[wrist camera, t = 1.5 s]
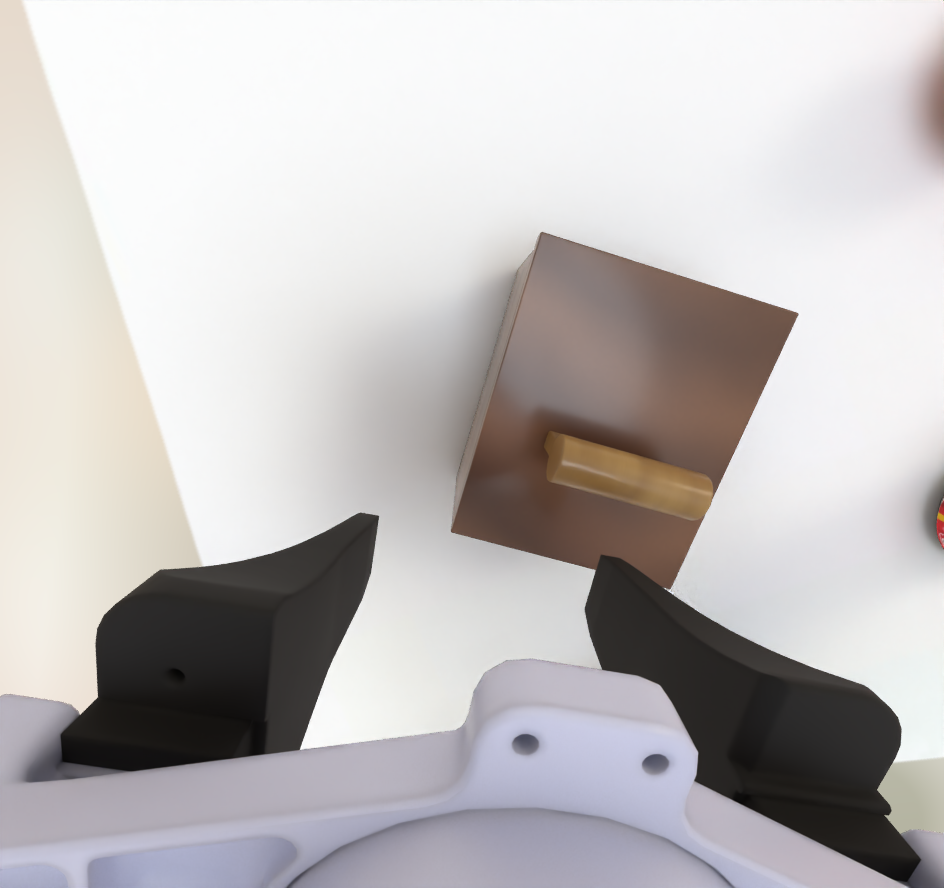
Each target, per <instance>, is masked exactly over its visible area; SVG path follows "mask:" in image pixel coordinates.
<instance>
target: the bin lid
mask: <svg viewBox="0 0 944 888" xmlns="http://www.w3.org/2000/svg"><path fill="white" fill-rule="evenodd" d="M797 316H798V313H796V312H793V311H790V310H787V309H783V308H780V307H777V306H774V305H771V304H768V303H765V302H761V301H758V300H755V299H752V298H749V297H746V296H743V295H739V294H736V293H733V292H730V291H727V290H724V289H720V288H717V287H714V286H711V285H708V284H705V283H702V282H698V281H695V280H692V279H689V278H686V277H683V276H679V275H676V274H673V273H670V272H667V271H664V270H661V269H657V268H654V267H651V266H648V265H645V264H642V263H639V262H635V261H632V260H629V259H626V258H623V257H620V256H616V255H613V254H610V253H607V252H604V251H601V250H598V249H594V248H591V247H588V246H585V245H582V244H579V243H575V242H572V241H569V240H566V239H563V238H560V237H557V236H553V235H550V234H547V233H544V232H541V233H540V234H539V236H538V238H537V241H536V245H535V248H534V251H533V255H532V258H531V261H530V265H529V268H528V271H527V275H526V278H525V281H524V285H523V288H522V291H521V295H520V298H519V301H518V305H517V308H516V311H515V315H514V318H513V321H512V325H511V328H510V331H509V335H508V338H507V341H506V345H505V348H504V351H503V355H502V358H501V361H500V365H499V368H498V371H497V375H496V378H495V381H494V385H493V388H492V391H491V395H490V398H489V401H488V405H487V408H486V411H485V415H484V418H483V421H482V425H481V428H480V431H479V435H478V438H477V441H476V445H475V448H474V451H473V455H472V458H471V461H470V465H469V468H468V471H467V475H466V478H465V481H464V485H463V488H462V491H461V495H460V498H459V501H458V505H457V508H456V511H455V515H454V518H453V521H452V526H451V532H452V533H456V534H460V535H464V536H468V537H472V538H475V539H479V540H483V541H487V542H491V543H495V544H498V545H502V546H506V547H510V548H514V549H517V550H521V551H525V552H529V553H533V554H537V555H540V556H544V557H548V558H552V559H556V560H560V561H563V562H567V563H571V564H575V565H579V566H583V567H586V568H590V569H594V570H596V569H597V566H598V562H599V559H600V556H601V555H606V556H612V557H618V558H621V559H623V560H624V561H626V562H628V563H629V564H631V565H632V566H634V567H635V568H636V569H638V570H639V571H641V572H642V573H643V574H645V575H646V576H648V577H649V578H650V579H652V580H653V581H654V582H656V583H657V584H658V585H660V586H661V587H663V588H667V589H671V587H672V585H673V583H674V580H675V578H676V576H677V574H678V572H679V570H680V567H681V565H682V563H683V561H684V559H685V557H686V555H687V552H688V550H689V548H690V546H691V544H692V542H693V540H694V537H695V535H696V533H697V531H698V529H699V527H700V525H701V522H702V520H703V518H704V516H705V514H706V512H707V511H708V509H709V507H710V505H711V502H712V499H713V497H714V494H715V492H716V490H717V488H718V486H719V484H720V482H721V479H722V477H723V475H724V473H725V471H726V469H727V467H728V464H729V462H730V460H731V458H732V456H733V454H734V452H735V449H736V447H737V445H738V443H739V441H740V439H741V437H742V434H743V432H744V430H745V428H746V426H747V424H748V422H749V419H750V417H751V415H752V413H753V411H754V409H755V406H756V404H757V402H758V400H759V398H760V396H761V394H762V391H763V389H764V387H765V385H766V383H767V381H768V379H769V376H770V374H771V372H772V370H773V368H774V366H775V364H776V361H777V359H778V357H779V355H780V353H781V351H782V349H783V346H784V344H785V342H786V340H787V338H788V336H789V333H790V331H791V329H792V327H793V325H794V323H795V321H796V318H797Z"/></svg>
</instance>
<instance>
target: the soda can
mask: <svg viewBox="0 0 944 888" xmlns="http://www.w3.org/2000/svg"><path fill="white" fill-rule="evenodd" d="M936 526H937V535H938V539H939V542H940V544H941V546H942V547H943V549H944V497H943V499H942V501H941V504H940V507H939V511H938V515H937V523H936Z"/></svg>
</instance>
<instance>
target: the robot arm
mask: <svg viewBox="0 0 944 888" xmlns="http://www.w3.org/2000/svg"><path fill="white" fill-rule="evenodd" d="M378 520H379V516H377V515H371V514H365V513H358V514H356V515H354V516H352V517H351V518H349V519H347V520H345V521H344V522H342V523H340V524H338V525H337V526H335V527H333V528H331V529H329V530H327V531H326V532H324V533H321V534H319V535H317V536H315V537H313V538H311V539H309V540H307V541H304V542H302V543H300V544H297V545H295V546H292V547H290V548H287V549H284V550H281V551H278V552H275V553H271V554H268V555H264V556H260V557H256V558H252V559H248V560H244V561H239V562H233V563H227V564H221V565H214V566H206V567H196V568H181V569H168V570H167V569H164V570H159V571H158V572H157V573H155V574H154V575H153V576H151V577H150V578H149V579H147V580H146V581H145V582H144V583H142V584H141V585H140V586H138V587H137V588H136V589H135V590H133V591H132V592H131V593H130V594H128V595H127V596H125V597H124V598H123V599H122V600H120V601H119V602H118V603H116V604H115V605H114V606H113V607H112V608H111V609H110V610H109V611H108V612H107V613H106V614H105V615H104V616H103V618H102V621H101V623H100V624H99V627H98V628H97V636H96V664H97V684H98V685H97V686H98V698H97V699H96V700H95V701H94V702H93V703H92V704H91V705H90V706H89V707H88V708H87V709H86V710H85V711H84V712H83V713H82V714H81V715H80V714H79V712H78V710H76V709H75V708H74V707H73V706H72V705H69V704H67V703H64V702H59V701H53V700H46V699H39V698H33V697H26V696H19V695H13V694H4V695H2V696H0V888H944V833H940V832H934V831H927V830H920V829H914V830H908V831H906V832H904V833H902V834H901V835H900V833H899V832H898V831H897V830H896V829H895V827H894V826H893V825H892V824H891V823H890V822H889V821H888V819H887V818H886V817H885V816H884V815H889V814H890V813H891V807H890V805H889V804H888V802H887V801H886V800H885V799H884V798H883V797H882V795H881V794H880V793H879V792H878V791H877V789H878V787H879V785H880V783H881V781H882V780H883V778H884V776H885V775H886V773H887V771H888V770H889V768H890V766H891V764H892V763H893V761H894V759H895V757H896V755H897V753H898V750H899V748H900V745H901V730H902V729H901V726H900V723H899V719H898V717H897V716H896V714H895V713H894V712H893V711H892V709H891V708H890V707H889V706H888V705H887V704H886V703H885V702H883V701H882V700H881V699H880V698H879V697H878V696H877V695H876V694H875V693H874V692H873V691H871V690H870V689H869V688H868V687H866V686H864V685H862V684H859V683H856V682H853V681H850V680H847V679H844V678H841V677H838V676H835V675H832V674H829V673H826V672H823V671H821V670H818V669H815V668H812V667H810V666H807V665H805V664H802V663H800V662H797V661H795V660H792V659H790V658H787V657H785V656H782V655H780V654H778V653H776V652H773V651H771V650H769V649H767V648H764V647H762V646H760V645H758V644H756V643H754V642H752V641H750V640H748V639H746V638H744V637H742V636H740V635H738V634H736V633H734V632H732V631H730V630H728V629H727V628H725V627H723V626H721V625H720V624H718V623H716V622H714V621H713V620H711V619H709V618H707V617H706V616H704V615H703V614H701V613H699V612H698V611H696V610H695V609H693V608H692V607H690V606H689V605H687V604H686V603H684V602H683V601H681V600H680V599H678V598H677V597H675V596H674V595H672V594H671V593H670V592H668V591H667V590H665V589H664V588H663V587H661V586H660V585H658V584H657V583H656V582H654V581H653V580H652V579H650V578H649V577H648V576H646V575H645V574H643V573H642V572H641V571H639V570H638V569H636V568H635V567H634V566H632V565H631V564H629V563H628V562H626V561H624V560H623V559H621V558H618V557H612V556H606V555H601V556H600V559H599V562H598V566H597V569H596V572H595V576H594V579H593V582H592V586H591V589H590V592H589V596H588V599H587V602H586V606H585V613H586V619H587V624H588V628H589V633H590V637H591V640H592V643H593V646H594V648H595V651H596V654H597V657H598V659H599V662H600V665H601V667H602V670H599V669H592V668H586V667H580V666H574V665H568V664H561V663H555V662H549V661H543V660H537V659H521V660H506V661H504V662H503V663H501V664H499V665H497V666H495V667H494V668H492V669H490V670H488V671H486V672H485V673H484V675H483V676H482V678H481V680H480V681H479V683H478V685H477V687H476V688H475V690H474V692H473V696H472V701H471V705H470V709H469V713H468V716H467V718H466V721H465V723H464V724H463V725H462V726H461V727H460V728H458V729H456V730H453V731H445V732H437V733H430V734H422V735H414V736H406V737H398V738H390V739H383V740H375V741H367V742H359V743H351V744H343V745H336V746H328V747H320V748H312V749H304V750H300V747H301V744H302V741H303V738H304V736H305V733H306V730H307V727H308V724H309V721H310V719H311V716H312V713H313V710H314V707H315V704H316V702H317V699H318V696H319V693H320V691H321V688H322V685H323V683H324V680H325V677H326V674H327V672H328V669H329V667H330V665H331V662H332V660H333V658H334V656H335V654H336V652H337V650H338V648H339V646H340V644H341V642H342V640H343V637H344V635H345V633H346V631H347V629H348V627H349V625H350V623H351V621H352V619H353V617H354V615H355V613H356V611H357V609H358V607H359V605H360V603H361V601H362V598H363V595H364V592H365V589H366V586H367V583H368V580H369V577H370V574H371V568H372V562H373V555H374V548H375V541H376V534H377V527H378Z"/></svg>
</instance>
